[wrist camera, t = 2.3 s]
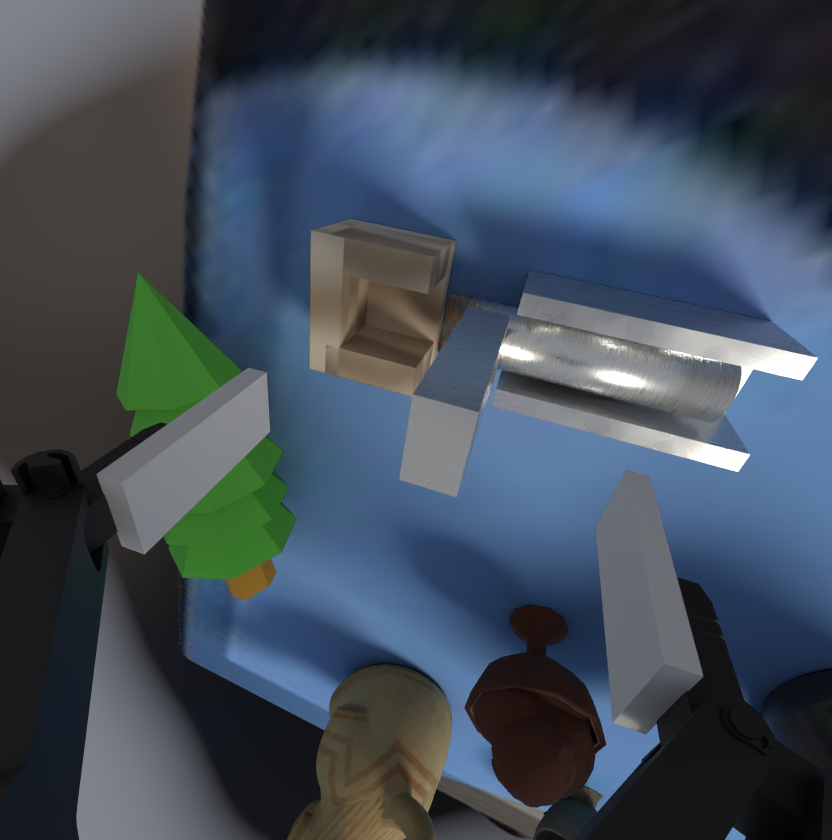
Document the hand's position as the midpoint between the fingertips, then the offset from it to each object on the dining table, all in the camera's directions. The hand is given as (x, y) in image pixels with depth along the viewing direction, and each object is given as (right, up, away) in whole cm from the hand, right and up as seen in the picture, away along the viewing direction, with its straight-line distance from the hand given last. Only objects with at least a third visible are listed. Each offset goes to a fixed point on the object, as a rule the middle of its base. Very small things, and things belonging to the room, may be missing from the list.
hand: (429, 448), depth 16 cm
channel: (+13, +6, +12) cm, 19 cm away
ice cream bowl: (+12, -19, +28) cm, 36 cm away
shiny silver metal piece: (+10, +6, +12) cm, 16 cm away
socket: (-2, +10, +15) cm, 18 cm away
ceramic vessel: (-2, -34, +41) cm, 54 cm away
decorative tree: (-13, -1, +23) cm, 27 cm away
